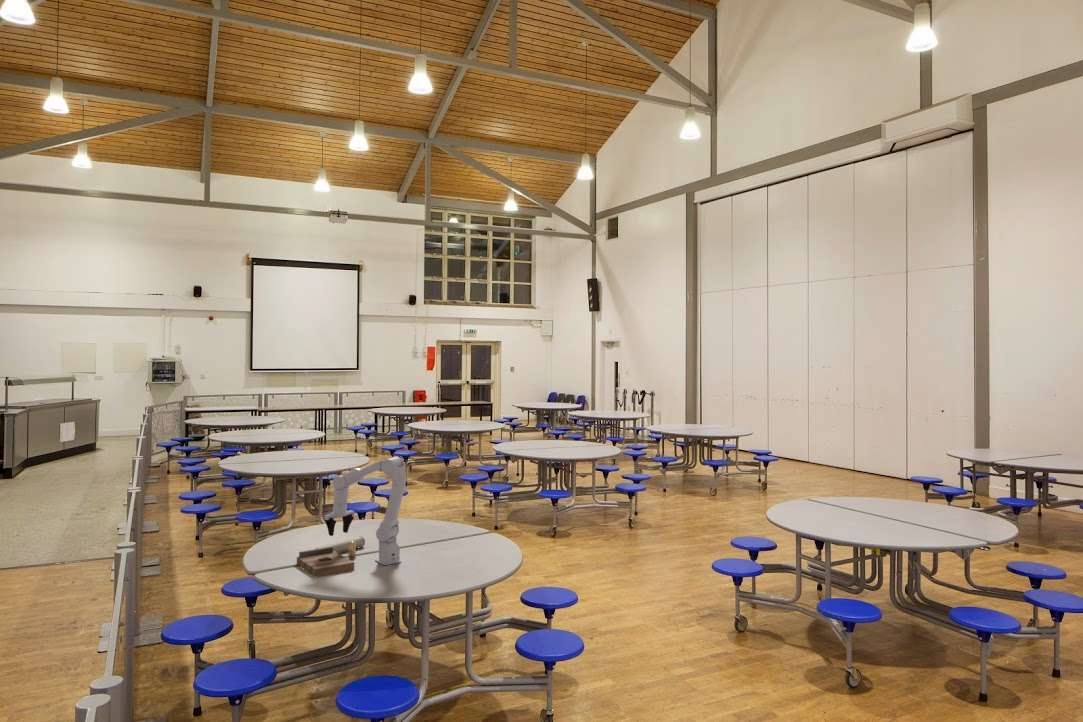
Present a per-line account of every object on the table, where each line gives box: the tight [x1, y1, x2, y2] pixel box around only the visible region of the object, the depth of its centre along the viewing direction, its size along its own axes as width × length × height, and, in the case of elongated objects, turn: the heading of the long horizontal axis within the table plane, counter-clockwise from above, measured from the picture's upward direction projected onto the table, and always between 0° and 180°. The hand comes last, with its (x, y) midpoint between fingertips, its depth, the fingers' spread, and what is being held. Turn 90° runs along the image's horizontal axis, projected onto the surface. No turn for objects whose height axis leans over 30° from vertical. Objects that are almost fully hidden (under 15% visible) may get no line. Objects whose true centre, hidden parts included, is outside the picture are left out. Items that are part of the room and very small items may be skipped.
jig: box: [296, 547, 355, 577], centre depth 276 cm, size 22×16×5 cm
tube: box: [314, 535, 366, 554], centre depth 298 cm, size 5×5×25 cm
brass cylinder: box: [347, 541, 357, 560], centre depth 289 cm, size 3×3×7 cm
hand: (338, 533), depth 290 cm, fingers open, 7 cm apart
